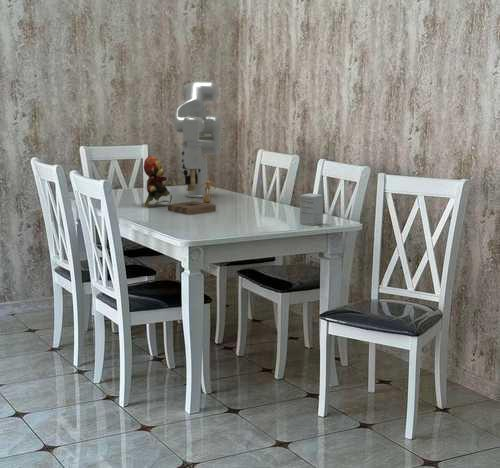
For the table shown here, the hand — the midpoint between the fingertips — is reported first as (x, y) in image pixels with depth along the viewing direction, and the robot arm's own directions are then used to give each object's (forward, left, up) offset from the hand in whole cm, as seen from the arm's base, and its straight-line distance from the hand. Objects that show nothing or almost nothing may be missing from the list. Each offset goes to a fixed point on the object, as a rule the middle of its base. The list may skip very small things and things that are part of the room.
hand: (191, 183), depth 384 cm
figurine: (-14, +22, -13) cm, 30 cm away
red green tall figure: (-23, -3, -13) cm, 27 cm away
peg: (0, 0, -3) cm, 3 cm away
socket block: (0, 0, -13) cm, 13 cm away
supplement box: (+61, +16, -13) cm, 64 cm away
